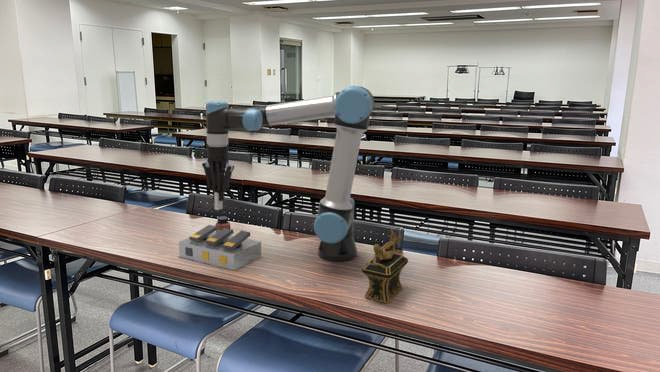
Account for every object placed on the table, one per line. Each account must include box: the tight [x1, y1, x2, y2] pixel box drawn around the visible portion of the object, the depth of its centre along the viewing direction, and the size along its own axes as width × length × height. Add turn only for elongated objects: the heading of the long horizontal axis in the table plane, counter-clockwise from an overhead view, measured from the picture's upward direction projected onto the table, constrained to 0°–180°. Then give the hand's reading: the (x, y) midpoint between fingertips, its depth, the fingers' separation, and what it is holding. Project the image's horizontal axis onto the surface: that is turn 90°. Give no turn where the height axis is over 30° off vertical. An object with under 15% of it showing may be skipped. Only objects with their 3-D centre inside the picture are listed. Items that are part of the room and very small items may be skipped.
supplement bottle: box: [214, 216, 231, 233], centre depth 189 cm, size 6×6×11 cm
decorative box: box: [361, 228, 409, 304], centre depth 148 cm, size 20×10×20 cm, turn 151°
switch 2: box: [206, 228, 234, 246], centre depth 175 cm, size 4×11×2 cm, turn 153°
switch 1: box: [188, 224, 217, 242], centre depth 178 cm, size 4×11×2 cm, turn 153°
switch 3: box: [223, 230, 251, 250], centre depth 171 cm, size 4×11×2 cm, turn 152°
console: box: [178, 231, 262, 272], centre depth 176 cm, size 26×16×7 cm, turn 63°
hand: (218, 208), depth 172 cm, fingers closed
